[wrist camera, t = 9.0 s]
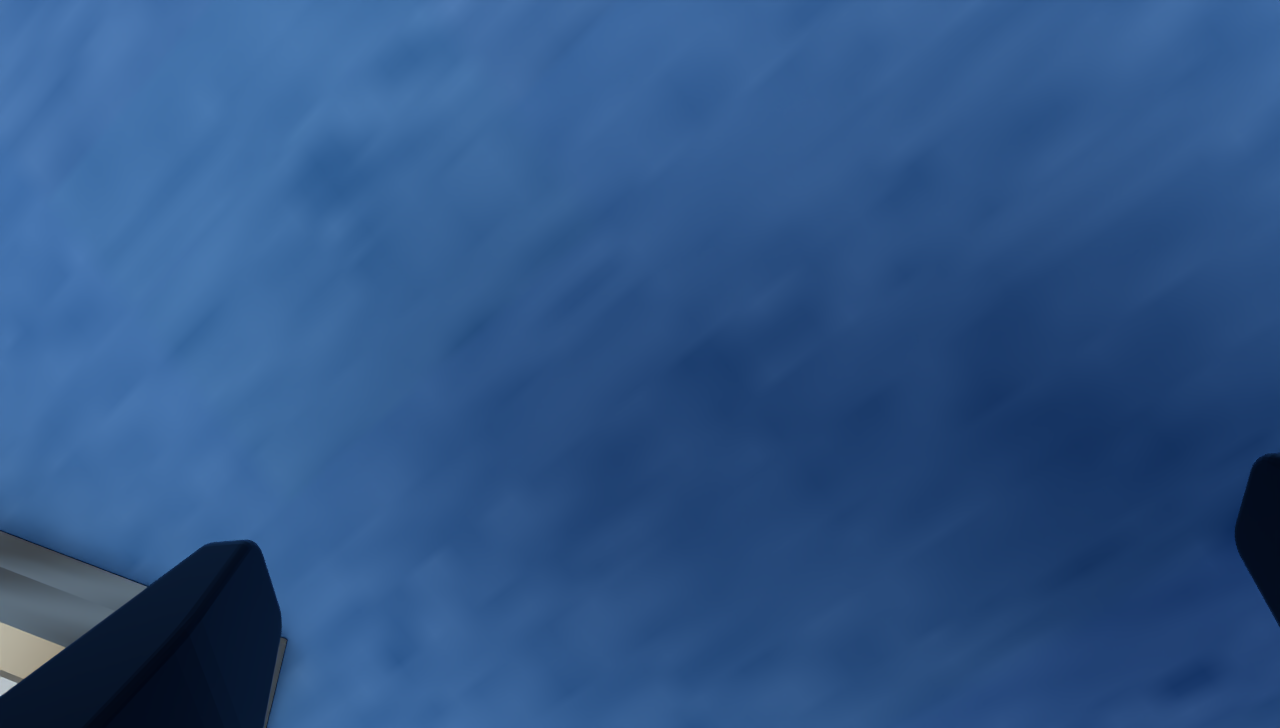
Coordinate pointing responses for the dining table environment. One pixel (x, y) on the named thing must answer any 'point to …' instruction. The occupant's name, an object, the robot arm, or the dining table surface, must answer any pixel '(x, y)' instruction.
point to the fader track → (57, 605)
